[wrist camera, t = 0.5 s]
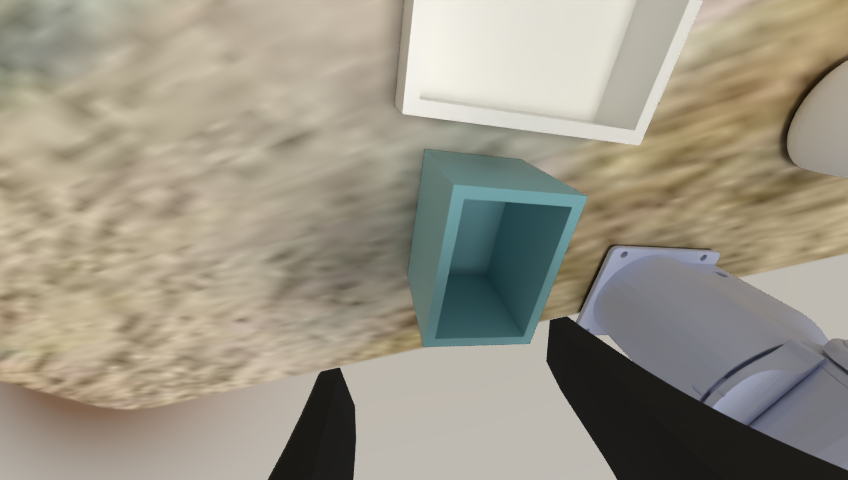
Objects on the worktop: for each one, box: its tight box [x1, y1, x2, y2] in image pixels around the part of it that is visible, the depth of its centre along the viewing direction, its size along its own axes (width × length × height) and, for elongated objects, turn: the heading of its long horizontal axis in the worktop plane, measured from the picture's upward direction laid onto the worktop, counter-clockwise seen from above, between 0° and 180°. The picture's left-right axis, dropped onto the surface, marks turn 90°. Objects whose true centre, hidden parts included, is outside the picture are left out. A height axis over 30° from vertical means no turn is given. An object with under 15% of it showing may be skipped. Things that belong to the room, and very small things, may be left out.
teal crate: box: [407, 149, 588, 347], centre depth 16 cm, size 6×8×6 cm
